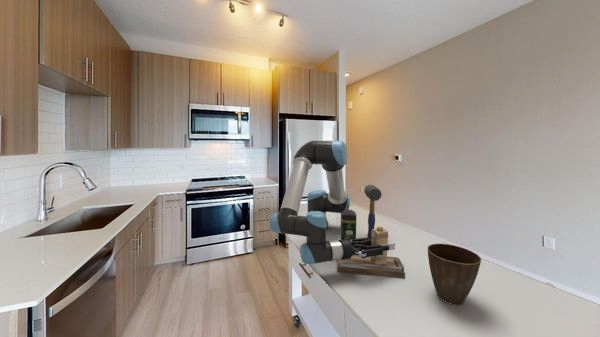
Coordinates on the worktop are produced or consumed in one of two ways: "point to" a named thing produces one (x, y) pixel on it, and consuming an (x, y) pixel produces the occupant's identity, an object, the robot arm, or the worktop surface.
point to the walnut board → (372, 266)
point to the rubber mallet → (372, 205)
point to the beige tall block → (379, 238)
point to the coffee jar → (348, 224)
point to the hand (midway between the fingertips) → (390, 243)
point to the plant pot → (453, 271)
